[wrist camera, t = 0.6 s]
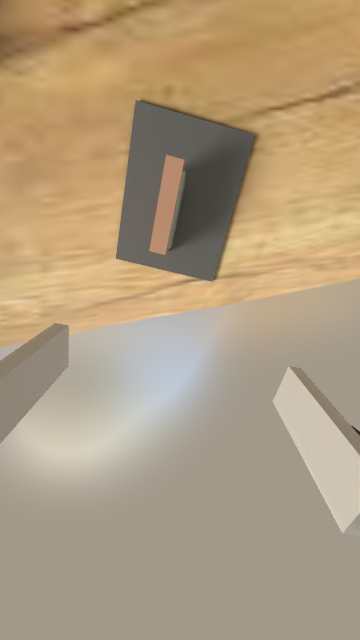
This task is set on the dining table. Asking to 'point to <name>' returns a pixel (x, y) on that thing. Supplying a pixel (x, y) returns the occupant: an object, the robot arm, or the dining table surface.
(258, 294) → the dining table surface
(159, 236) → the block
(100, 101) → the dining table surface
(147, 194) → the mat
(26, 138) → the dining table surface
